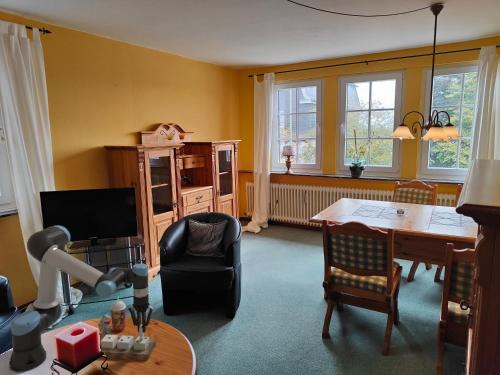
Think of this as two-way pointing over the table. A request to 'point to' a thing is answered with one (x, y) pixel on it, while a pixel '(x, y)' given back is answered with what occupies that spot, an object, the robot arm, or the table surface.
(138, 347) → the die
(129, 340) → the die
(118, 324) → the smoothie
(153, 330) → the table surface
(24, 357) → the robot arm
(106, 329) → the figurine
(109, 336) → the die
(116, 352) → the board
